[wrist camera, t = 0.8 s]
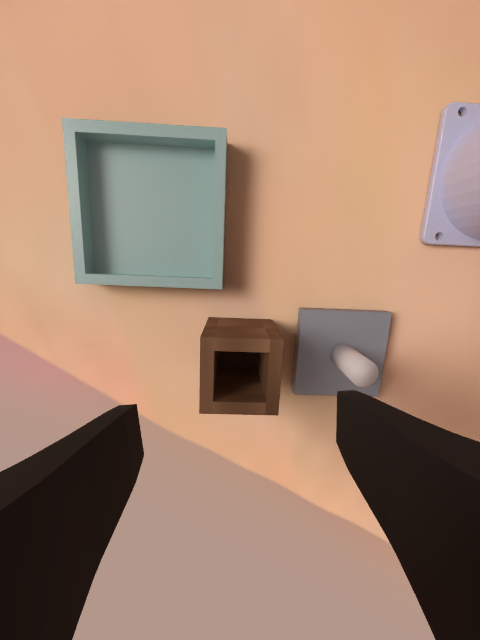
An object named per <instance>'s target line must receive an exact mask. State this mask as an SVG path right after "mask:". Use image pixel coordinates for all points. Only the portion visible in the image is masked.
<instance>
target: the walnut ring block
mask: <svg viewBox="0 0 480 640" xmlns="http://www.w3.org/2000/svg"><path fill="white" fill-rule="evenodd" d="M283 347H284V339H283V338H282V336H281V335H280V333H279V332H278V330H277V329H276V327H275V326H274V324H273V323H272V321H271V320H270V319H242V318H215V317H209V318H208V320H207V323H206V325H205V328H204V330H203V332H202V335H201V337H200V410H199V414H243V415H278V411H279V398H280V385H281V373H282V360H283ZM218 351H232V352H258V365H257V367H229V366H218Z"/></svg>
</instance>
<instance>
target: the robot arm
mask: <svg viewBox="0 0 480 640" xmlns="http://www.w3.org/2000/svg"><path fill="white" fill-rule="evenodd" d="M458 111H460V112H461V117H460V116H459V115H458ZM437 233H438V235H439V238H438V239H437V240H436V239H435V235H436V234H437ZM420 240H421V242H422V243H423V244H428V245H449V246H470V247H480V104H477V103H462V102H452V103H450V104H449V105H448V106H446V107H445V108H444V109H443V111H442V114H441V119H440V125H439V131H438V137H437V142H436V148H435V154H434V160H433V165H432V171H431V177H430V183H429V189H428V194H427V200H426V206H425V212H424V218H423V223H422V229H421V235H420ZM336 442H337V445H338V447H339V449H340V452H341V454H342V457H343V459H344V461H345V464H346V466H347V468H348V470H349V472H350V474H351V475H352V477H353V479H354V481H355V483H356V484H357V486H358V488H359V490H360V491H361V493H362V495H363V496H364V498H365V500H366V502H367V503H368V505H369V507H370V508H371V510H372V512H373V514H374V515H375V517H376V519H377V521H378V522H379V524H380V526H381V527H382V529H383V531H384V533H385V534H386V536H387V538H388V540H389V542H390V544H391V545H392V547H393V549H394V551H395V553H396V555H397V557H398V559H399V561H400V563H401V565H402V567H403V569H404V572H405V574H406V576H407V578H408V580H409V582H410V584H411V586H412V589H413V591H414V593H415V594H416V597H417V599H418V602H419V604H420V606H421V608H422V610H423V613H424V615H425V617H426V619H427V621H428V624H429V626H430V628H431V630H432V633H433V635H434V637H435V639H436V640H480V442H478V441H475V440H472V439H469V438H466V437H463V436H461V435H458V434H455V433H453V432H450V431H447V430H445V429H443V428H440V427H438V426H435V425H433V424H430V423H428V422H426V421H423V420H421V419H419V418H416V417H414V416H412V415H410V414H407V413H405V412H403V411H401V410H399V409H397V408H394V407H392V406H390V405H388V404H386V403H384V402H382V401H379V400H377V399H375V398H373V397H371V396H369V395H366V394H364V393H361V392H359V391H356V390H346V391H337V431H336ZM143 457H144V451H143V445H142V438H141V431H140V425H139V418H138V411H137V404H133V405H119V406H117V407H115V408H113V409H111V410H109V411H107V412H106V413H104V414H102V415H101V416H99V417H97V418H95V419H94V420H92V421H91V422H89V423H87V424H86V425H84V426H82V427H81V428H79V429H77V430H76V431H74V432H72V433H71V434H69V435H67V436H66V437H64V438H63V439H60V440H59V441H57V442H55V443H53V444H52V445H50V446H48V447H46V448H45V449H43V450H41V451H39V452H38V453H36V454H34V455H32V456H31V457H29V458H27V459H25V460H23V461H21V462H19V463H18V464H15V465H13V466H12V467H10V468H7V469H5V470H3V471H1V472H0V640H72V638H73V636H74V633H75V630H76V627H77V623H78V621H79V618H80V615H81V612H82V610H83V607H84V604H85V601H86V598H87V595H88V593H89V590H90V587H91V584H92V581H93V579H94V576H95V573H96V571H97V569H98V566H99V564H100V561H101V559H102V557H103V554H104V552H105V550H106V548H107V546H108V543H109V541H110V539H111V537H112V534H113V532H114V530H115V528H116V526H117V523H118V521H119V519H120V517H121V515H122V512H123V510H124V508H125V505H126V503H127V501H128V499H129V497H130V494H131V492H132V490H133V487H134V485H135V483H136V480H137V477H138V474H139V470H140V467H141V464H142V460H143Z"/></svg>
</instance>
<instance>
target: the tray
mask: <svg viewBox="0 0 480 640" xmlns="http://www.w3.org/2000/svg"><path fill="white" fill-rule="evenodd" d="M62 126H63V138H64V150H65V162H66V175H67V187H68V199H69V211H70V223H71V235H72V247H73V260H74V272H75V284H98V285H123V286H148V287H173V288H199V289H222V288H223V271H224V238H225V204H226V170H227V128H217V127H201V126H184V125H168V124H152V123H136V122H120V121H103V120H87V119H71V118H62Z"/></svg>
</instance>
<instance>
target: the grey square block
mask: <svg viewBox="0 0 480 640" xmlns="http://www.w3.org/2000/svg"><path fill="white" fill-rule="evenodd" d="M391 317H392V313H391V312H387V311H376V310H350V309H323V308H299V314H298V325H297V336H296V348H295V359H294V370H293V381H292V391H293V393H294V394H297V395H336V396H337V391H346V390H356V391H359V392H361V393H364V394H366V395H369V396H374V397H379V391H380V385H381V379H382V373H383V367H384V360H385V354H386V348H387V342H388V335H389V329H390V323H391Z"/></svg>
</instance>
